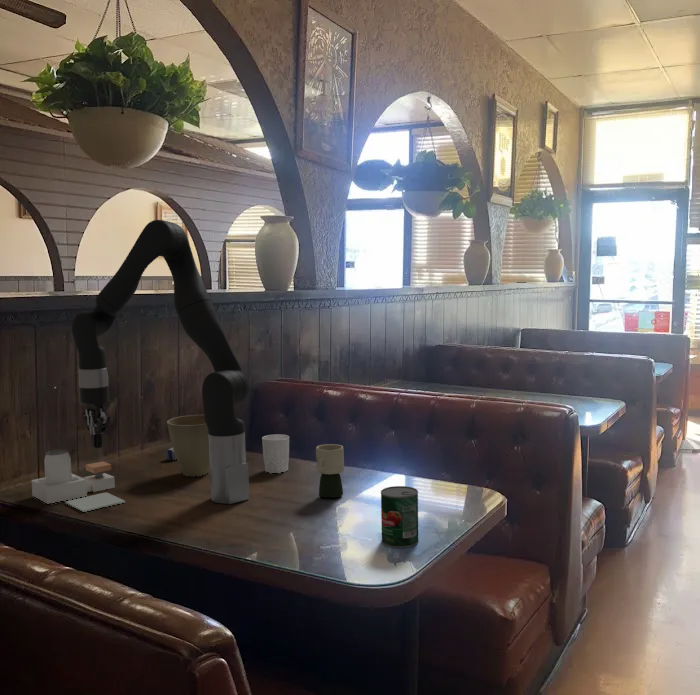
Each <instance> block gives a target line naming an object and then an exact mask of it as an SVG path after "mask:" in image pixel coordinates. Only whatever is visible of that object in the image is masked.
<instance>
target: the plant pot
mask: <svg viewBox="0 0 700 695" xmlns="http://www.w3.org/2000/svg"><path fill="white" fill-rule="evenodd" d="M166 423H167V424H166V425H167V429H168V430H167V431H168V433H169V438H170V443H171V446H172V447H171V448H173V450H174V453H175V456H176V459H177V460H176V462H177V464H178V466H179V468H180V470H181V473H182V475H183V476H184V475H185V477H188V476H191V477H190V478H193V477H195V476H197V477H203V476H206V475H208V474H210V462H209V438H208V427H207V425H206V423H205V419H204V414H192V415H183V416H182V415H181V416H177V417H172V418H170V419H168V420H167V421H166ZM207 473H208V474H207ZM205 474H206V475H205ZM202 475H203V476H202Z"/></svg>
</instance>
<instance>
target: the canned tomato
mask: <svg viewBox="0 0 700 695" xmlns="http://www.w3.org/2000/svg"><path fill="white" fill-rule="evenodd" d="M380 505H381V506H380V507H381V509H380V510H381V511H380V513H381V514H380V515H381V516H380V518H381V519H380V520H381V521H380V523H381V543H382V545H384V546H386V547H388V548H393V549H394V548H395V549H407V548H412V547H415V546H416V545H417V544H419V490H418V489H417V488H415V487H412V486H405V485H395V486H388V487H384V488H382V489H381V490H380Z"/></svg>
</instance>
